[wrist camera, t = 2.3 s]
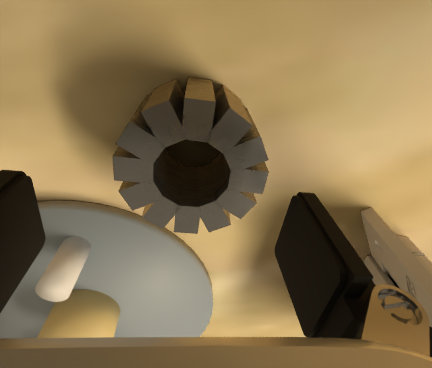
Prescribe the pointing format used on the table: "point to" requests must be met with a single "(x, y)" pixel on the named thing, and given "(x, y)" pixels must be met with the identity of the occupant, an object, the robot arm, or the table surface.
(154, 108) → the gear
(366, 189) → the table surface
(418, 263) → the hinge
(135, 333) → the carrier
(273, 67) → the table surface
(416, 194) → the table surface
